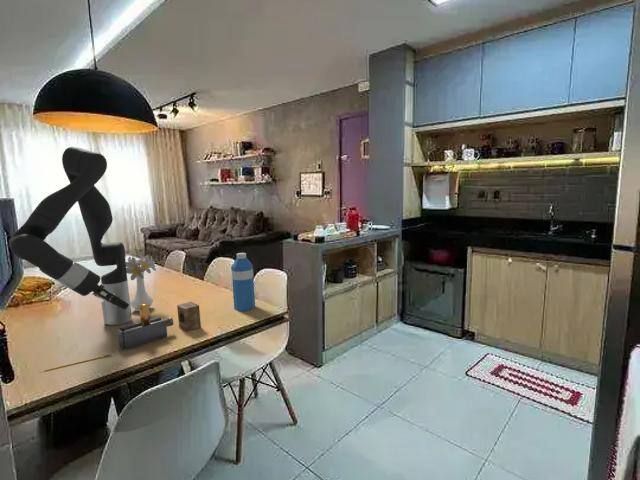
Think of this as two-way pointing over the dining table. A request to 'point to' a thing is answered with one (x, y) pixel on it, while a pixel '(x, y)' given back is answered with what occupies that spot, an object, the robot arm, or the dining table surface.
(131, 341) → the sleeve
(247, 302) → the water bottle
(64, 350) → the dining table surface
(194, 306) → the socket block
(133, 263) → the flower vase
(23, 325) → the dining table surface
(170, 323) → the tube
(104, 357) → the pencil
